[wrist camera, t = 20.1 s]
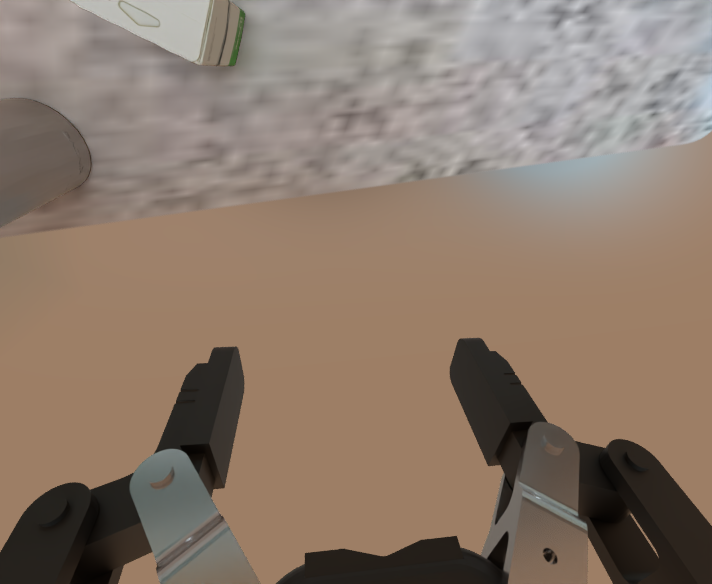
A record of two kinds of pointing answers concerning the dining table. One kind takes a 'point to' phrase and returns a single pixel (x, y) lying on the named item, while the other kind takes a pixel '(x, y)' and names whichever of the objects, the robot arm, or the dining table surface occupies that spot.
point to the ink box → (179, 25)
